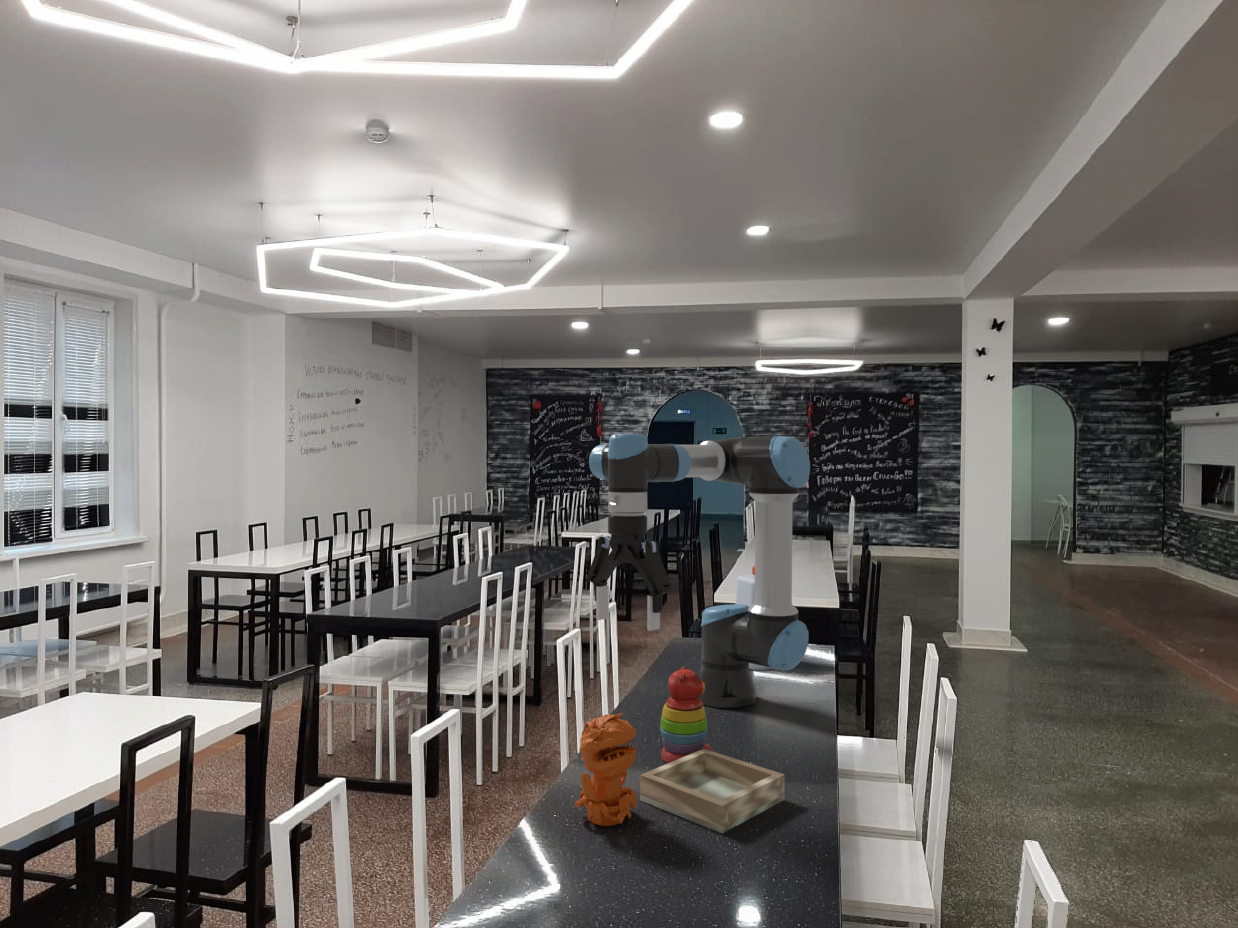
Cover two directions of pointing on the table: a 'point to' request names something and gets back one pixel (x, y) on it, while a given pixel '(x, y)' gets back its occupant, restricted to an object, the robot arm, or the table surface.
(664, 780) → the open wooden box
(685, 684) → the stacking bear
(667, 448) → the robot arm
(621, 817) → the toy dinosaur
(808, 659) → the table surface
